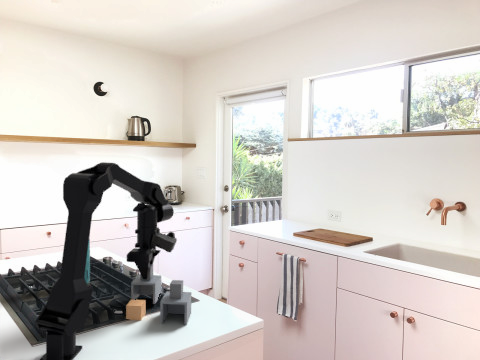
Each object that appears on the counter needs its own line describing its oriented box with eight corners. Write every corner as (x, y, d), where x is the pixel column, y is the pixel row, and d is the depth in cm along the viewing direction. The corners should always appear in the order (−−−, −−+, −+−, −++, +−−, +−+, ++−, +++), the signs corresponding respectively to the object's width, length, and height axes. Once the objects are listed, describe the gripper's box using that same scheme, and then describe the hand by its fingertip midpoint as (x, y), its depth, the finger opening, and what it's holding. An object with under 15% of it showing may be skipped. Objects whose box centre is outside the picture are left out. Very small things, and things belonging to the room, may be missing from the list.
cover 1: (155, 303, 105) (155, 269, 104) (131, 302, 105) (131, 269, 104) (161, 294, 112) (161, 262, 111) (138, 293, 112) (138, 261, 111)
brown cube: (140, 320, 97) (141, 306, 96) (126, 320, 97) (126, 305, 97) (145, 314, 101) (145, 300, 100) (131, 313, 101) (131, 299, 101)
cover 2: (186, 324, 95) (187, 287, 94) (160, 323, 95) (160, 286, 94) (191, 313, 102) (191, 278, 101) (166, 312, 102) (166, 277, 101)
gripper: (167, 233, 98) (166, 289, 99) (180, 220, 116) (179, 268, 117) (126, 231, 98) (125, 288, 99) (145, 219, 116) (145, 267, 118)
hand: (146, 277), depth 108 cm, fingers closed on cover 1, 3 cm apart
